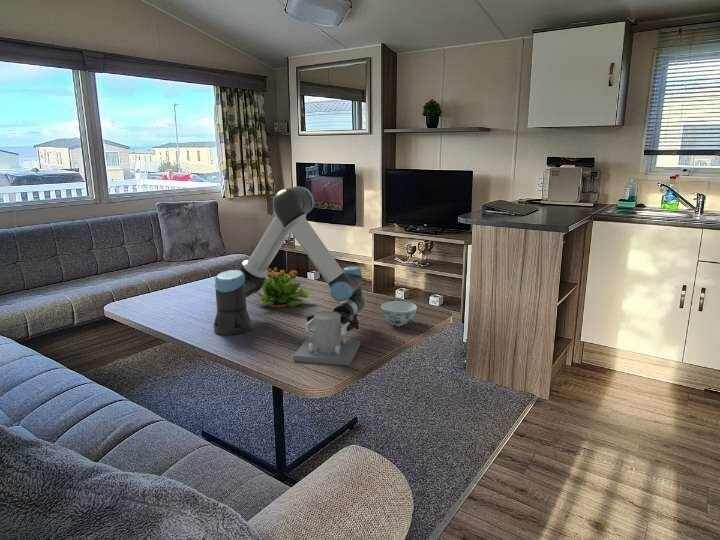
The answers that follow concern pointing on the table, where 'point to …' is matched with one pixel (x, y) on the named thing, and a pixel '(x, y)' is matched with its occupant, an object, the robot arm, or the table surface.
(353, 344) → the stub board
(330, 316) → the grey marbled cylinder
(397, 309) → the chinaware
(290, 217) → the robot arm
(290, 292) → the potted flower
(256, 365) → the table surface
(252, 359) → the table surface
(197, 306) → the table surface
